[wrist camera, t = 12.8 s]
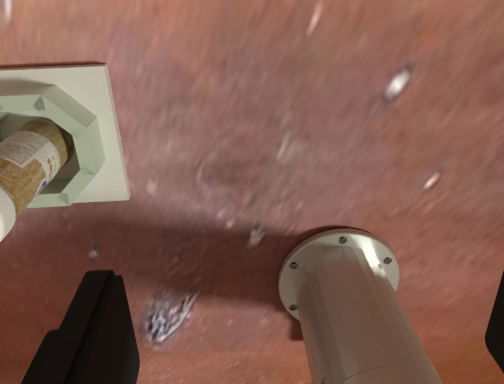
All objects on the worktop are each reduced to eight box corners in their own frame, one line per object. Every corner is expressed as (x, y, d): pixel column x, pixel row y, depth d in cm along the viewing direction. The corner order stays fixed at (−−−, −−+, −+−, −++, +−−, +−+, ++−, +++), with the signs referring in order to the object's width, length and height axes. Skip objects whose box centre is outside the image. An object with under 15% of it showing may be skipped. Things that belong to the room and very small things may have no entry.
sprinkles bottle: (69, 173, 38) (-4, 265, 26) (15, 156, 37) (-86, 244, 25) (80, 127, 36) (7, 203, 24) (24, 107, 35) (-81, 177, 23)
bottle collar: (130, 195, 41) (121, 216, 37) (1, 201, 40) (-22, 224, 37) (106, 63, 35) (93, 74, 31) (-44, 70, 35) (-75, 81, 31)
